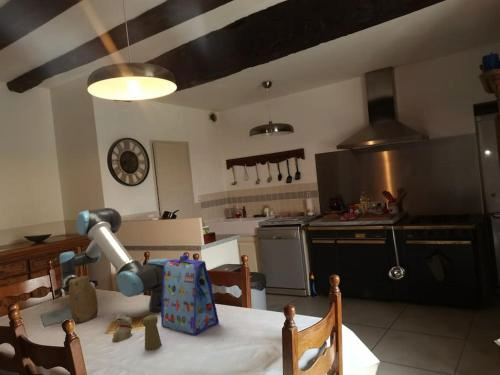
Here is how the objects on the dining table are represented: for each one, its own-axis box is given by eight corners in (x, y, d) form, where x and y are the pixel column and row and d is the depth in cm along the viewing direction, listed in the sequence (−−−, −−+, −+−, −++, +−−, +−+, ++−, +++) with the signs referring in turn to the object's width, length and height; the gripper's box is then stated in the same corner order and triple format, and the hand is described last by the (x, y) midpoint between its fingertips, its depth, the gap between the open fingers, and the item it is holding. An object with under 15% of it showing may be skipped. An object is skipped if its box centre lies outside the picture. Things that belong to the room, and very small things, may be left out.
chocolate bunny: (133, 337, 143) (130, 312, 142) (112, 343, 140) (109, 317, 140) (133, 332, 148) (130, 308, 148) (112, 337, 145) (109, 312, 145)
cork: (146, 352, 128) (142, 321, 128) (143, 346, 134) (139, 316, 133) (163, 346, 131) (160, 316, 131) (159, 341, 136) (156, 312, 136)
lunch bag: (220, 323, 147) (211, 252, 147) (194, 336, 137) (185, 260, 136) (185, 315, 161) (177, 250, 161) (159, 327, 151) (151, 257, 151)
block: (76, 325, 165) (71, 281, 165) (71, 321, 170) (65, 279, 170) (100, 316, 173) (95, 274, 172) (94, 314, 178) (89, 273, 178)
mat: (80, 317, 176) (80, 316, 176) (44, 327, 167) (44, 326, 167) (72, 306, 196) (72, 305, 196) (40, 314, 187) (40, 313, 187)
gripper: (97, 284, 204) (106, 291, 187) (47, 296, 190) (51, 305, 173) (96, 271, 204) (104, 277, 186) (45, 282, 190) (49, 289, 172)
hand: (79, 290), depth 179 cm, fingers open, 13 cm apart
